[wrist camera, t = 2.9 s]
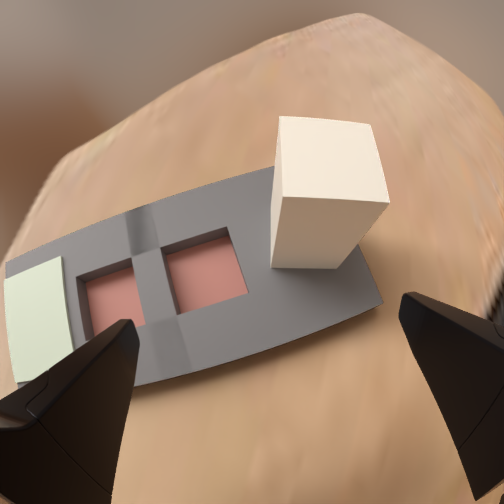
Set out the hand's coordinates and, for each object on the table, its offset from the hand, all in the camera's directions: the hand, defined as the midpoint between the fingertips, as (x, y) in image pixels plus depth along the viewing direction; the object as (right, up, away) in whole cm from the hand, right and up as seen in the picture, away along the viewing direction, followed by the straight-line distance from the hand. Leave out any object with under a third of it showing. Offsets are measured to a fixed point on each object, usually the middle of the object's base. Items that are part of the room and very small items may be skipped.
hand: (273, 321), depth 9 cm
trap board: (-8, -1, +14) cm, 16 cm away
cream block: (+3, +3, +14) cm, 14 cm away
